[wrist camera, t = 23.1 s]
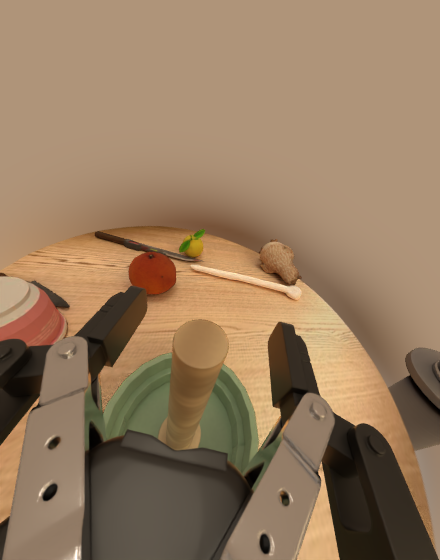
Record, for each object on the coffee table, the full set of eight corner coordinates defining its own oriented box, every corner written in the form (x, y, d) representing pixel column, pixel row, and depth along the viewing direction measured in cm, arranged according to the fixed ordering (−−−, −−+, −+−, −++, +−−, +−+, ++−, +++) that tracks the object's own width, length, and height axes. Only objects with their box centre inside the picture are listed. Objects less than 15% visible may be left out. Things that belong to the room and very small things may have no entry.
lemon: (205, 242, 54) (205, 223, 44) (206, 260, 52) (205, 245, 43) (182, 242, 53) (177, 223, 44) (182, 261, 52) (176, 245, 42)
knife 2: (204, 263, 50) (100, 234, 50) (205, 257, 48) (99, 228, 49) (201, 269, 47) (93, 239, 48) (202, 263, 46) (91, 232, 47)
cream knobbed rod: (186, 275, 43) (187, 266, 41) (190, 265, 46) (192, 256, 44) (300, 303, 44) (306, 295, 42) (296, 292, 47) (302, 284, 45)
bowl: (251, 396, 25) (264, 378, 22) (222, 596, 14) (241, 620, 10) (157, 357, 27) (157, 334, 24) (62, 505, 15) (36, 500, 12)
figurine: (259, 262, 60) (283, 298, 50) (246, 246, 52) (271, 284, 43) (283, 245, 57) (314, 279, 48) (273, 226, 50) (306, 260, 41)
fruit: (133, 307, 33) (129, 271, 28) (128, 277, 39) (124, 244, 34) (181, 298, 37) (184, 266, 33) (170, 273, 43) (171, 242, 38)
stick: (205, 422, 21) (250, 324, 11) (189, 474, 18) (233, 406, 7) (171, 407, 22) (181, 299, 11) (149, 454, 18) (134, 363, 8)
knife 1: (-33, 271, 30) (7, 257, 33) (-23, 281, 31) (13, 266, 35) (32, 321, 26) (69, 299, 29) (40, 329, 27) (74, 307, 31)
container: (30, 323, 18) (60, 363, 23) (53, 265, 26) (72, 305, 30) (-149, 356, 14) (-67, 396, 19) (-62, 275, 21) (-18, 319, 26)
